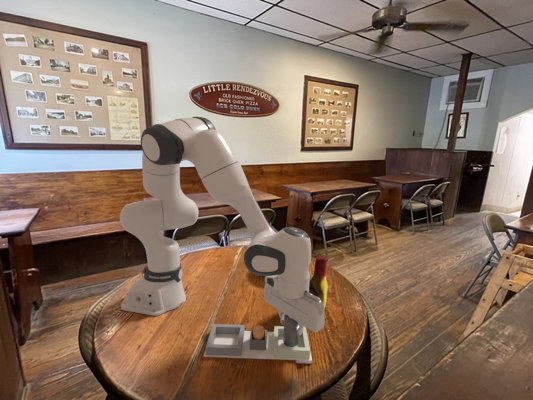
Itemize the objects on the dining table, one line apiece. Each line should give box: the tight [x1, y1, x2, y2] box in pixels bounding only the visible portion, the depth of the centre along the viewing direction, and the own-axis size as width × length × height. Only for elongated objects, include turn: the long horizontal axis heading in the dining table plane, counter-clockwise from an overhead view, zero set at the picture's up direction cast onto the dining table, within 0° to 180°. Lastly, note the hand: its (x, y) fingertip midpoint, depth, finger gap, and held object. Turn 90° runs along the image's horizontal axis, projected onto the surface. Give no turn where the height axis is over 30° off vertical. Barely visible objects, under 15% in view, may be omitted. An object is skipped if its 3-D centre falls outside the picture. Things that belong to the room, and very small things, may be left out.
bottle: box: [309, 255, 329, 309], centre depth 98 cm, size 12×6×20 cm, turn 178°
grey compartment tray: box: [203, 323, 313, 365], centre depth 79 cm, size 30×11×4 cm, turn 89°
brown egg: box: [253, 324, 265, 340], centre depth 78 cm, size 3×3×4 cm
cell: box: [283, 314, 299, 347], centre depth 78 cm, size 4×4×9 cm
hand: (291, 328), depth 78 cm, fingers closed on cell, 4 cm apart
